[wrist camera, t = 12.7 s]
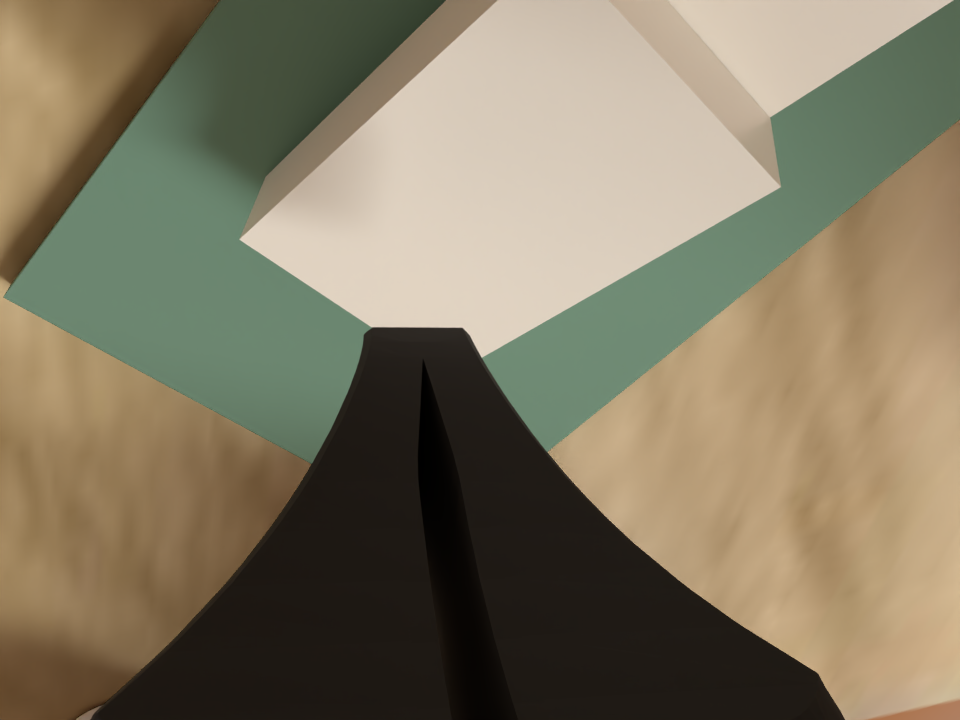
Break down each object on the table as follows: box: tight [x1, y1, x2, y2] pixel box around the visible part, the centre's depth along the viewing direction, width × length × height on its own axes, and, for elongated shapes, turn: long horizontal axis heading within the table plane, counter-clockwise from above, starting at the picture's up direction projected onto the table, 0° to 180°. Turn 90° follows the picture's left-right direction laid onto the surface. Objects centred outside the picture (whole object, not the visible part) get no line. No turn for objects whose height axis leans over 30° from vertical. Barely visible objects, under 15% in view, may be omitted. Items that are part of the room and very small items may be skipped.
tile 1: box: [239, 0, 781, 357], centre depth 14 cm, size 2×5×7 cm
